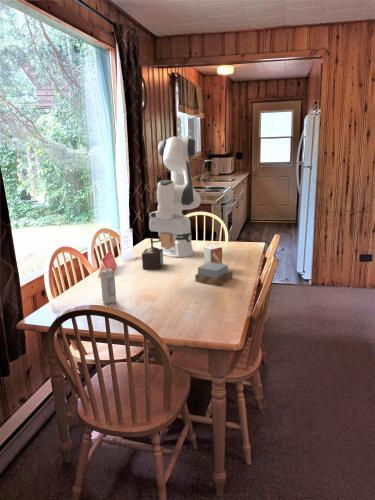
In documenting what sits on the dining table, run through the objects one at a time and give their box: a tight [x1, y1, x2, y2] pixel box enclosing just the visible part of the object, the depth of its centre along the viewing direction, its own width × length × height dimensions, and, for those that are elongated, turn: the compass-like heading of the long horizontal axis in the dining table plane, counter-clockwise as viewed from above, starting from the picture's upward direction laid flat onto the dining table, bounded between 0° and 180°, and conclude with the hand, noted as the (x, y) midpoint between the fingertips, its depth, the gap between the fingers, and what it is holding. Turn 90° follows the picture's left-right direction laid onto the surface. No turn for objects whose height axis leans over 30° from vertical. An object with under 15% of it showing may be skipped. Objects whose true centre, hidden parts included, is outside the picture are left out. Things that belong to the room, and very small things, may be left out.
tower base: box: [194, 270, 234, 287], centre depth 207 cm, size 14×14×4 cm
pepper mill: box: [141, 234, 165, 270], centre depth 232 cm, size 16×11×18 cm
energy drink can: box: [100, 268, 117, 304], centre depth 181 cm, size 6×6×15 cm
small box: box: [203, 244, 223, 265], centre depth 221 cm, size 8×6×13 cm
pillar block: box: [160, 233, 175, 248], centre depth 201 cm, size 5×5×7 cm
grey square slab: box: [197, 262, 229, 279], centre depth 206 cm, size 11×11×4 cm
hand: (167, 241), depth 202 cm, fingers closed on pillar block, 5 cm apart
